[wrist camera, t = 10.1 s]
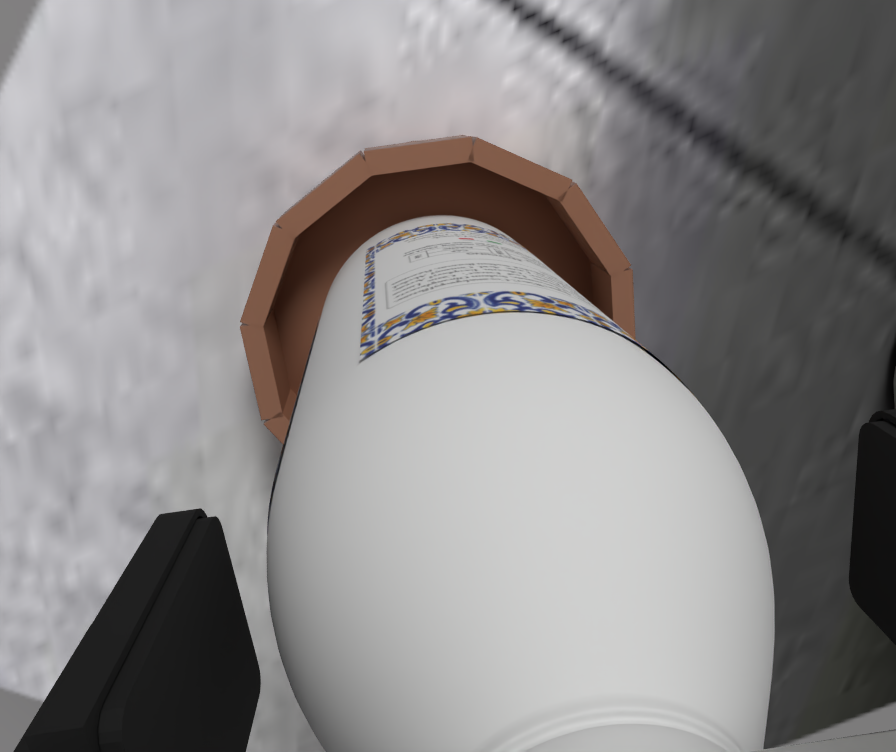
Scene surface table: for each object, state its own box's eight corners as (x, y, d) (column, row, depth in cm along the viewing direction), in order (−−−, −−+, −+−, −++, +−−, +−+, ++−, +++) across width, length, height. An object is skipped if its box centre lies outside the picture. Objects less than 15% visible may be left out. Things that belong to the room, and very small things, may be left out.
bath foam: (457, 475, 23) (792, 1907, 5) (275, 352, 22) (-406, 1939, 3) (599, 308, 22) (1904, 1386, 3) (418, 160, 20) (1045, 707, 1)
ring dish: (597, 115, 21) (626, 115, 18) (614, 449, 24) (641, 486, 22) (224, 166, 20) (204, 172, 18) (299, 499, 24) (289, 542, 21)
